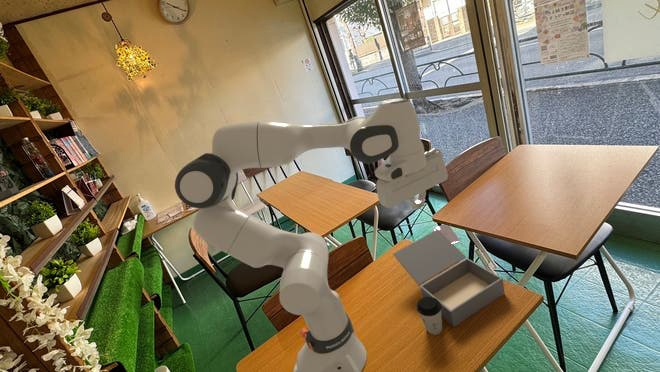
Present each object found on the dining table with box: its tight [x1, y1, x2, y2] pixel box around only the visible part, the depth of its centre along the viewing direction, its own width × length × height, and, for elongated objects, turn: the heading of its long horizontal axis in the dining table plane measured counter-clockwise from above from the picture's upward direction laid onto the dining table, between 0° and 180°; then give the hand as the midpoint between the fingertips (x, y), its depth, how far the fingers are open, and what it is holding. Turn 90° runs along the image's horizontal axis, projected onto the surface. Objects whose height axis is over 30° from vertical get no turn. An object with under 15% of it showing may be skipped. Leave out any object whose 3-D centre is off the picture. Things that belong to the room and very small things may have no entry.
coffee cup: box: [416, 297, 443, 336], centre depth 90 cm, size 7×7×10 cm
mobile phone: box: [432, 224, 461, 245], centre depth 131 cm, size 8×1×15 cm
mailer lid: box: [392, 229, 467, 286], centre depth 108 cm, size 20×14×1 cm
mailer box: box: [419, 257, 506, 328], centre depth 98 cm, size 20×14×6 cm
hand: (418, 207), depth 84 cm, fingers closed
